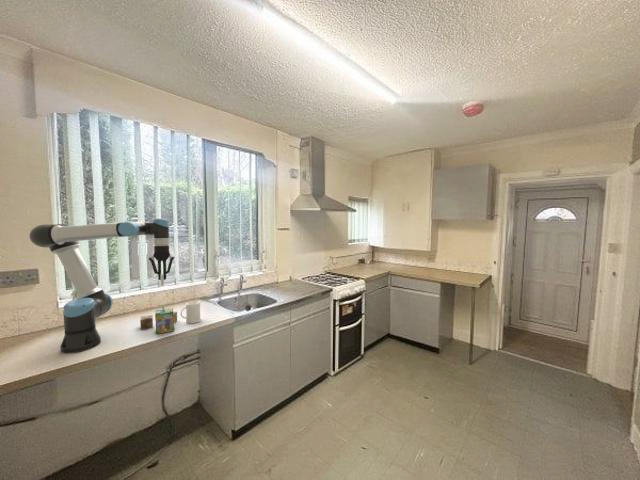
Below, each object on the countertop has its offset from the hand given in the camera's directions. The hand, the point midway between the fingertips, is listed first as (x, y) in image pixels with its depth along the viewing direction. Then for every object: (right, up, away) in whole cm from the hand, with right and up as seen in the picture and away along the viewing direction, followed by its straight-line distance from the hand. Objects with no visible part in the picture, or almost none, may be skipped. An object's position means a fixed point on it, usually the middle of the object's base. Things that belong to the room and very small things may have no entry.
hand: (162, 285), depth 152 cm
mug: (+9, -26, +15) cm, 31 cm away
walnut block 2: (-3, -26, +13) cm, 29 cm away
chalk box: (+1, -27, +2) cm, 27 cm away
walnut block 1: (-13, -26, +6) cm, 30 cm away
